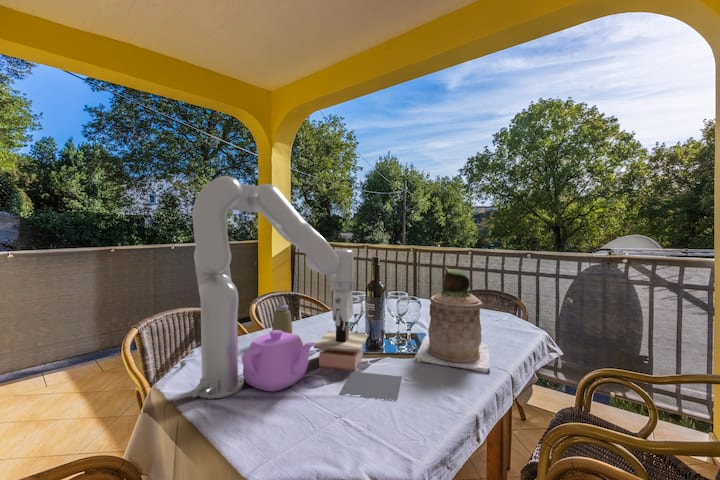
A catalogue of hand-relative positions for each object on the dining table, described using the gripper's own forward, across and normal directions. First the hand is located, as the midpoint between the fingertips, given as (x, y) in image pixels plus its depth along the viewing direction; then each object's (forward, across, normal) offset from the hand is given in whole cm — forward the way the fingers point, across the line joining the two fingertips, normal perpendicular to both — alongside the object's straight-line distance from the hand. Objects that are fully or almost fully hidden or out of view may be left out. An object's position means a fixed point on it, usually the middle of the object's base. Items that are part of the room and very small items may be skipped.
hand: (342, 339), depth 114 cm
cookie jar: (+9, +16, -37) cm, 41 cm away
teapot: (+8, -17, +15) cm, 24 cm away
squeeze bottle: (+8, +15, +29) cm, 34 cm away
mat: (+8, -14, -13) cm, 21 cm away
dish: (+8, 0, 0) cm, 8 cm away
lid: (+1, 0, 0) cm, 1 cm away
